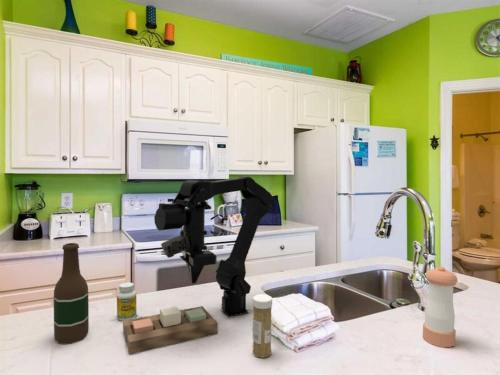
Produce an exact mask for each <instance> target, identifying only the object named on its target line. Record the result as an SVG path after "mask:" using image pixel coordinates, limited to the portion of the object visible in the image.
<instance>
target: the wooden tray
mask: <svg viewBox="0 0 500 375" xmlns="http://www.w3.org/2000/svg"><path fill="white" fill-rule="evenodd" d="M196 309H202V310H203V311H204V313H205V314H206V319H205V320H201V321H196V322H191V323H189V322H188V321H187V319H186V311H190V310H196ZM179 311H180V312H181V324H177V325H172V326H167V327H163V325H162V323H161V321H160V313H158V314H153V315H147V316H141V317H135V318H133V319H130V320H125V321H122V332H123V337H124V340H125V343H126V347H127V352H128V354H129V356H130V355H134V354H139V353H142V352H146V351H152V350H155V349H160V348H163V347H167V346H172V345H176V344H182V343H184V342H189V341H194V340H197V339H198V340H199V339H202V338H207V337H211V336H216V335H219V334H218V331H219V329H218V328H219V326H218V324H219V322H217V321H216V319H215V318H214V317H213V316H212V315H211V314H210V313H209V312H208V311H207V309H205V307H204V306H203V305H201V306H196V307H195V306H194V307H191V308H184V309H179ZM148 318H150V319H151V321H152V323H153V330H152V331H147V332H143V333H138V334H133V333H132V321H137V320H142V319H148Z"/></svg>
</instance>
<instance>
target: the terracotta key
mask: <svg viewBox="0 0 500 375" xmlns="http://www.w3.org/2000/svg"><path fill="white" fill-rule="evenodd" d="M152 330H153V323H152V321H151V319H150V318H148V319H142V320H137V321H132V333H133V334H138V333H143V332H147V331H152Z"/></svg>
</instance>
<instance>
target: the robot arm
mask: <svg viewBox="0 0 500 375" xmlns="http://www.w3.org/2000/svg"><path fill="white" fill-rule="evenodd" d="M234 192H240V195H241V197H242V198H243V199H244V200H245V201H244V209H245V216H244V218H243V220H242V222H241V226H240V228H239V230H238V234H237V236H236V238H235V242H234V244H233V247H232V248H231V249H232V250H231V252H230V254H229V257H227V258H226V259H225V260H224V259H221V260H220V261H219V263H218V267H217V269H216V270H215V273H216V275H215V279H216V282H217V284H218V285H219V289H220V290H222V292H223V296H221V307H220V309H221V310H222V311H223V313H224V314H226V315H227V316H228V317H235V316H239V315H243V314H249V310H248V309H247V294H250V292H251V288H252V287H251V285H250V284H249V283H248V282H247V280H245V277H246V273H247V270H246V263H245V262H246V259H247V257H248V254H249V251H250V248H251V246H252V243H253V240H254V238H255V235H256V233H257V229H258V227H259V225H260V222H261V220H262V219H263V217H264V216H266V215H267V214H268V213H269V211H270V210H271V207H272V205H273V203H274V198H273V195H272V194H271V192H270V191H268V190H267V189H266V188H265V187H264V186H262V185H261V184H259V183H258V182H256V181H255V180H254V178H252V177H250V176H239V177H234V178H227V179H220V180H214V181H207V180H206V181H205V180H185V181H183V182H182V184H181V186H180V189H179V191H178V193H177V194H176V196H175V197H174V199H173V200H172V202H171V203H165V202H163V203H162V202H161V203H160V202H159V203H158V208H156V211H155V215H154V216H153V218H154V225H155V228H156V229H157V230H158V231H159V232H160V231H161V232H162V231H168V230H169V231H170V230H176V229H181V230H180V231H179V235H178V236H175V237H172V238H170V239H168V240H166V241H163V242H161V243H160V245H161V248H162V250H163V253H164V256H166V257H167V258H173V257H174V256H175V255H177V254H179V253H181V252H182V255H179V258H180V259H181V260H183V261H184V263H185V265H186V268H187V271H188V275H189V276H188V277H189V279H190V280H189V281H190V282H191V284H196V283H197V282H198V279H199V277H200V276H201V273H202V271H203V269H204V267H205V266H210V265H216V264H217V258H218V257H217V255H216V254H215V253H214V252H212V251H210V250H209V249H208V247H207V246H208V245H207V244H205V236H207V235H208V231H207V230H206V229H205V220H206V219H205V211H206V210H212V206H211V205H210V204H209V203H208V202H207V201H208V200H210V199H212V198H214V197H215V196H218V195H222V194H228V193H234Z"/></svg>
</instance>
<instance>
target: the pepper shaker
mask: <svg viewBox="0 0 500 375" xmlns="http://www.w3.org/2000/svg"><path fill="white" fill-rule="evenodd" d="M425 279H426V281H427V282H428V294H427V302H426V306H425V310H424V322H423V325H422V340H424V341H425V342H426V341H427V342H426V343H428V344H431V345H432V344H433V346H435V345H436V346H435V347H438V346H440V347H439V348H444V347H450V348H453V347H452V346H454V345H455V346H456V335H457V334H456V332H457V331H456V329H455V322H456V321H455V319H456V314H455V307H454V286H456V284H457V283H458V277H457V275H456V274H455V273H454V272H452V271H450V270H448V269H446V268H445V267H444V266H438V267H437V268H432V269H428V271H426V274H425ZM455 346H454V347H455Z"/></svg>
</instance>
